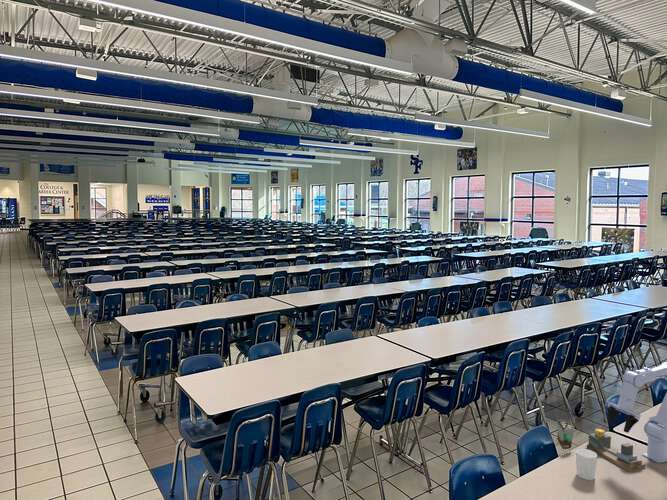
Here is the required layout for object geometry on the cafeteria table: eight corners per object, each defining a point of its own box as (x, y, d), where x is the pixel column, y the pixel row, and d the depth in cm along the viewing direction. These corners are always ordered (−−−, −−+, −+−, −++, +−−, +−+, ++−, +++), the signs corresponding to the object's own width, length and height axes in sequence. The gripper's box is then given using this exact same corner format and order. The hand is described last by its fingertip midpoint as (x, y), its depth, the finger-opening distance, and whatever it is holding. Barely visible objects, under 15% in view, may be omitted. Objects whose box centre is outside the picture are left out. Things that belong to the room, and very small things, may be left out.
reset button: (599, 438, 229) (599, 428, 228) (606, 441, 225) (606, 431, 224) (592, 439, 227) (593, 429, 227) (599, 442, 224) (600, 432, 223)
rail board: (603, 444, 230) (603, 431, 230) (645, 467, 209) (645, 453, 209) (586, 447, 227) (587, 434, 227) (627, 470, 206) (628, 456, 206)
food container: (577, 451, 223) (578, 430, 223) (563, 450, 224) (564, 429, 224) (569, 439, 235) (570, 420, 235) (556, 438, 236) (557, 418, 236)
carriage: (624, 455, 216) (625, 441, 216) (636, 461, 210) (637, 447, 210) (616, 457, 214) (617, 442, 214) (628, 463, 209) (628, 448, 208)
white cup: (578, 469, 207) (579, 446, 207) (598, 476, 202) (599, 453, 201) (572, 475, 202) (573, 452, 201) (592, 483, 196) (593, 459, 196)
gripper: (606, 391, 216) (598, 419, 215) (635, 402, 202) (626, 433, 202) (617, 394, 218) (609, 423, 218) (647, 406, 204) (638, 436, 204)
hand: (618, 428), depth 210 cm, fingers open, 7 cm apart
